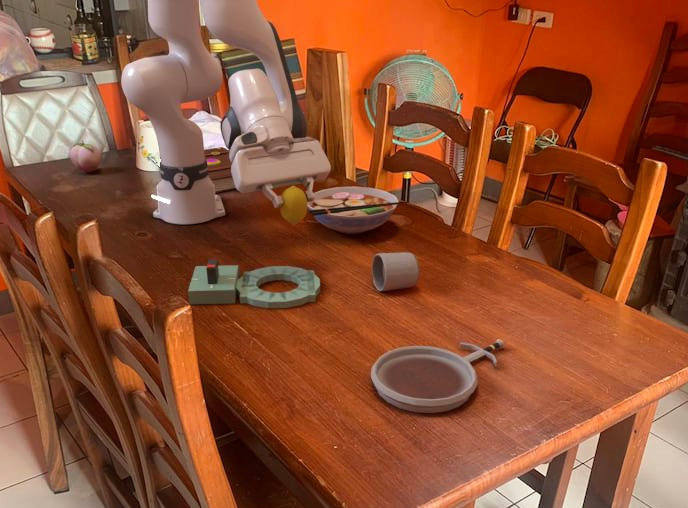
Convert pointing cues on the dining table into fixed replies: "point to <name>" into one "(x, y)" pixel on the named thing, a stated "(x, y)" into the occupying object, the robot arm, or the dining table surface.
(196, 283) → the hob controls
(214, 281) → the hob knob
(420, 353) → the frying pan
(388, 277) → the ceramic mug
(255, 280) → the hob
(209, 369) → the dining table surface
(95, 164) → the decorative fruit
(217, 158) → the book
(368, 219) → the ramen bowl
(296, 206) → the lemon
